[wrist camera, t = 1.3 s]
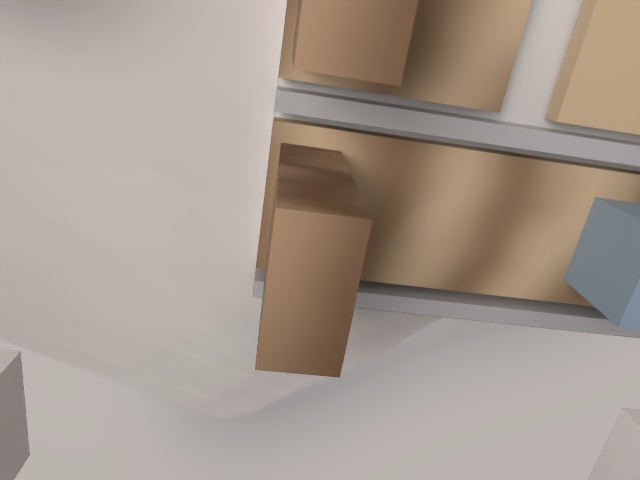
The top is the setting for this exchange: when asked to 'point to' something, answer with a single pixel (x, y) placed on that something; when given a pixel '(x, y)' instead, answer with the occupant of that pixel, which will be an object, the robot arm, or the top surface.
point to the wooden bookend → (407, 47)
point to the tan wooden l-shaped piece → (408, 229)
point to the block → (610, 261)
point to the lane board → (512, 136)
